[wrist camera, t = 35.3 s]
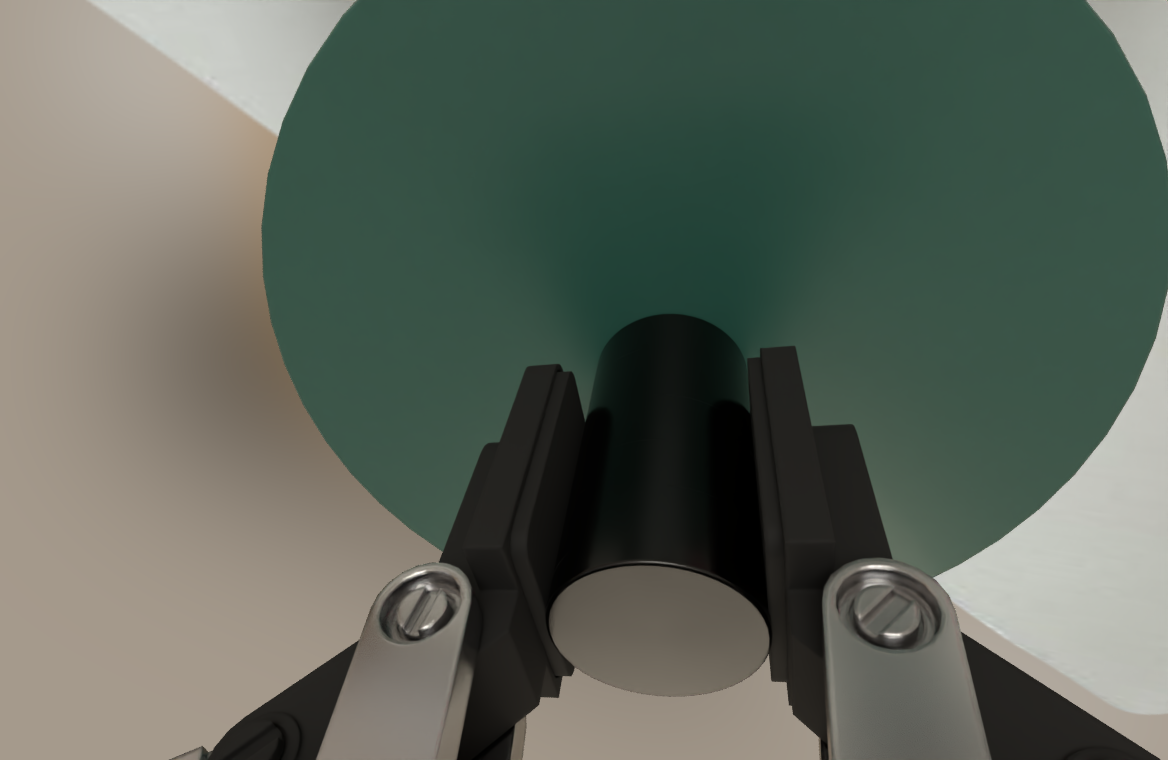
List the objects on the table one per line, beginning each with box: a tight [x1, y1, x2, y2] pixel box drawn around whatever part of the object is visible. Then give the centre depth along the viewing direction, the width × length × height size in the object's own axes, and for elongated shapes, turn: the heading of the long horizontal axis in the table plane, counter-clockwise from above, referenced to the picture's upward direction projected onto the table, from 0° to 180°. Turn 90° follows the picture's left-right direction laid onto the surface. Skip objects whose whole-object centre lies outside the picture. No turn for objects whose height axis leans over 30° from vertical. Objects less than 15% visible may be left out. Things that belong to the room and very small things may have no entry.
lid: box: [262, 0, 1168, 697], centre depth 11 cm, size 16×16×7 cm
